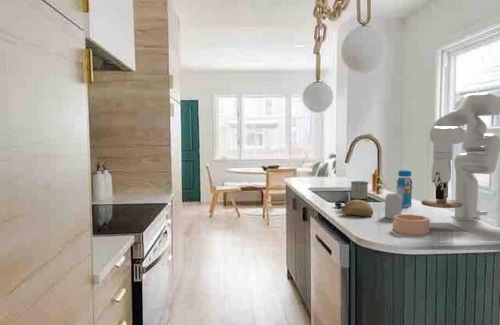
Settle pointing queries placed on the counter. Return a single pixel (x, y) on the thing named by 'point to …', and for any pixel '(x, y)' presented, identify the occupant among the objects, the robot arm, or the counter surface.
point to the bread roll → (358, 208)
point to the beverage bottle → (405, 187)
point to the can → (393, 205)
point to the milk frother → (356, 192)
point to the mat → (445, 227)
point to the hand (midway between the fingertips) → (441, 197)
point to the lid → (442, 202)
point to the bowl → (410, 224)
